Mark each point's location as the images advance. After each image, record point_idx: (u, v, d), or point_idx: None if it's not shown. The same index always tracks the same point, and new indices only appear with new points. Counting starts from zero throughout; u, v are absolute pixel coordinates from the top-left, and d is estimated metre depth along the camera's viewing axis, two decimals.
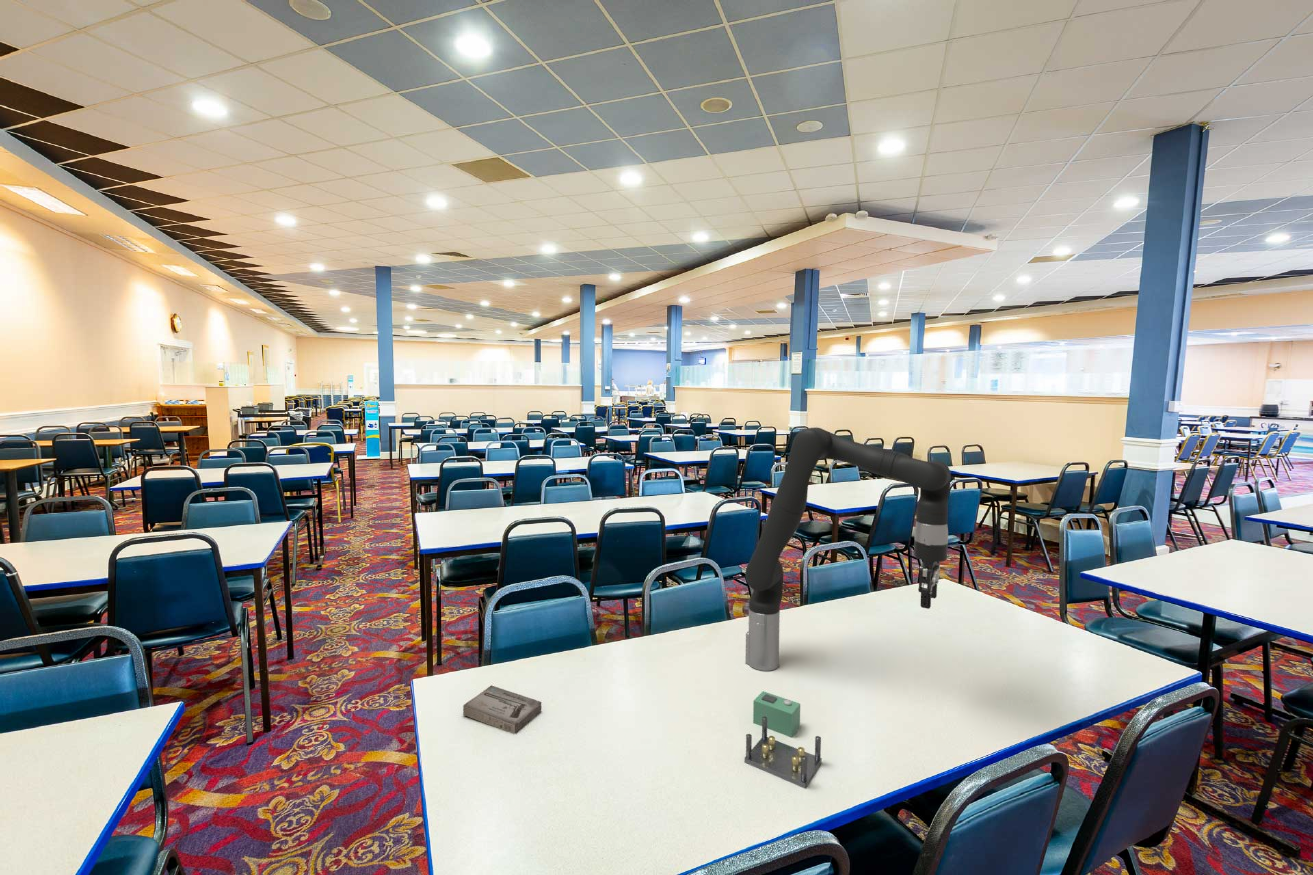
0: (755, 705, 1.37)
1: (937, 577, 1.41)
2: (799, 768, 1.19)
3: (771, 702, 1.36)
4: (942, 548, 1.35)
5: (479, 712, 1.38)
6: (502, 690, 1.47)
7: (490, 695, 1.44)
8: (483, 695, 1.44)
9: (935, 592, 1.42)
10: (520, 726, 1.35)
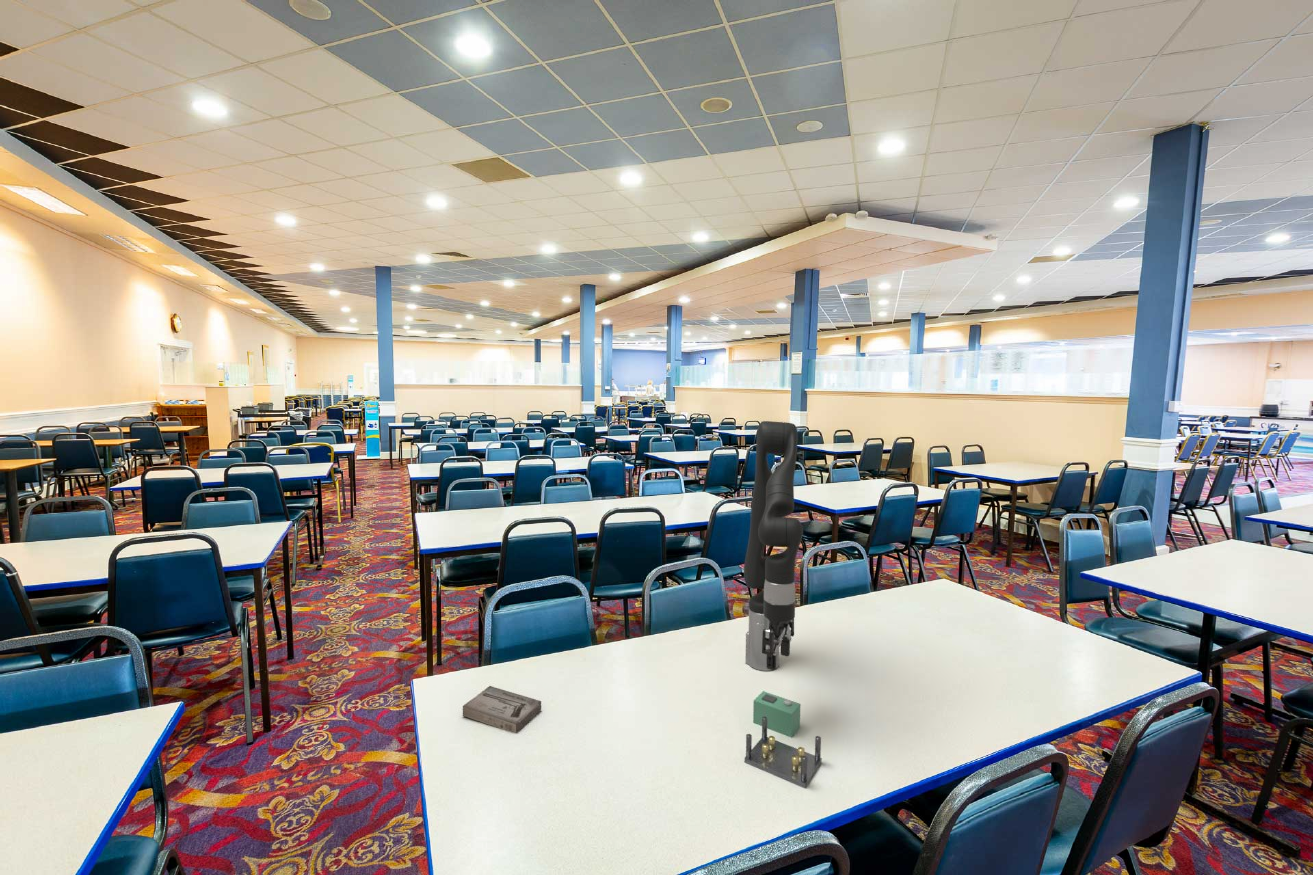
0: (755, 705, 1.37)
1: (788, 635, 1.37)
2: (799, 768, 1.19)
3: (771, 702, 1.36)
4: (787, 608, 1.31)
5: (479, 712, 1.37)
6: (501, 690, 1.47)
7: (489, 696, 1.44)
8: (482, 696, 1.44)
9: (788, 650, 1.38)
10: (521, 725, 1.35)
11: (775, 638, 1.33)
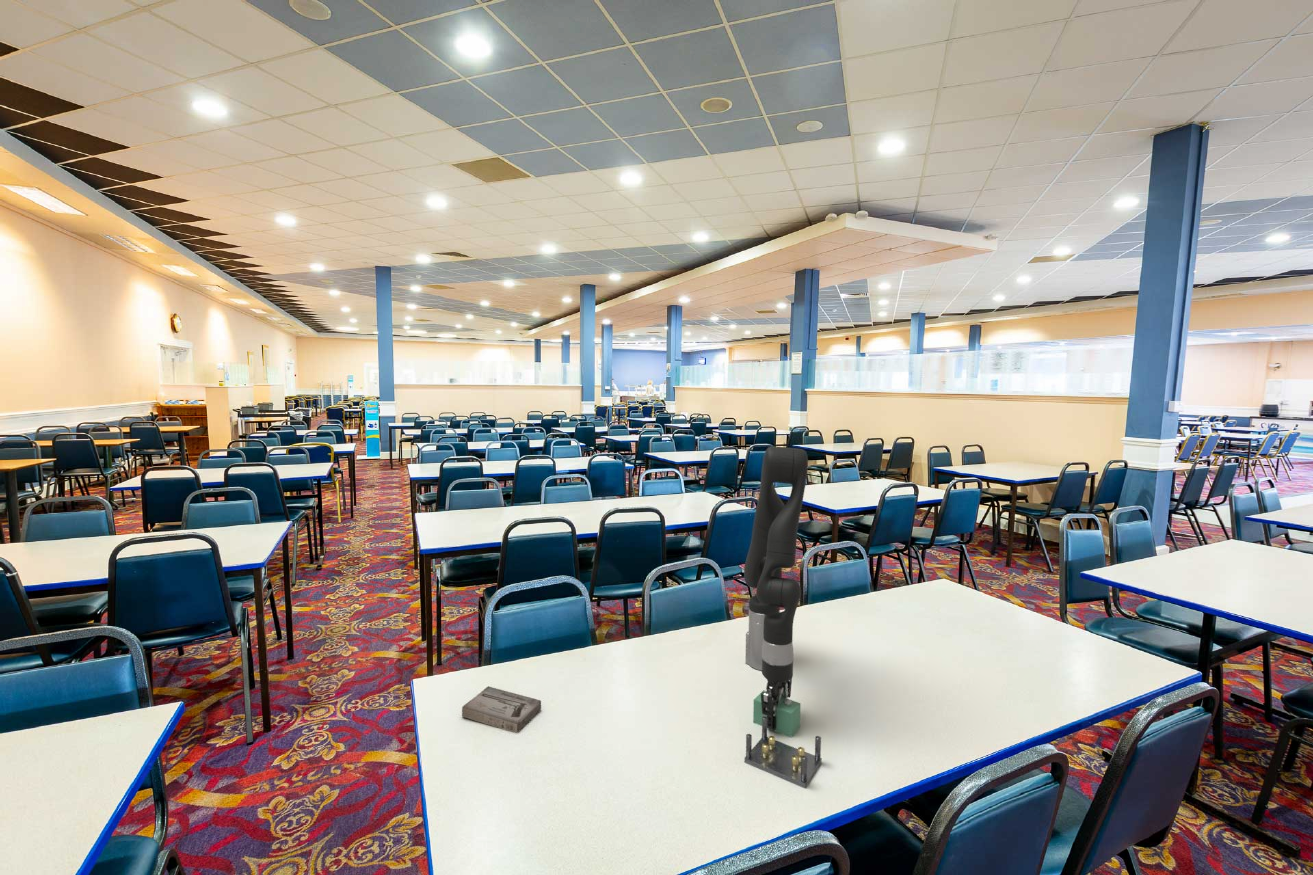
0: (755, 704, 1.37)
1: (785, 695, 1.37)
2: (799, 768, 1.19)
3: None
4: (785, 668, 1.32)
5: (479, 713, 1.37)
6: (500, 690, 1.47)
7: (488, 696, 1.44)
8: (481, 696, 1.44)
9: None
10: (522, 725, 1.35)
11: (773, 697, 1.34)
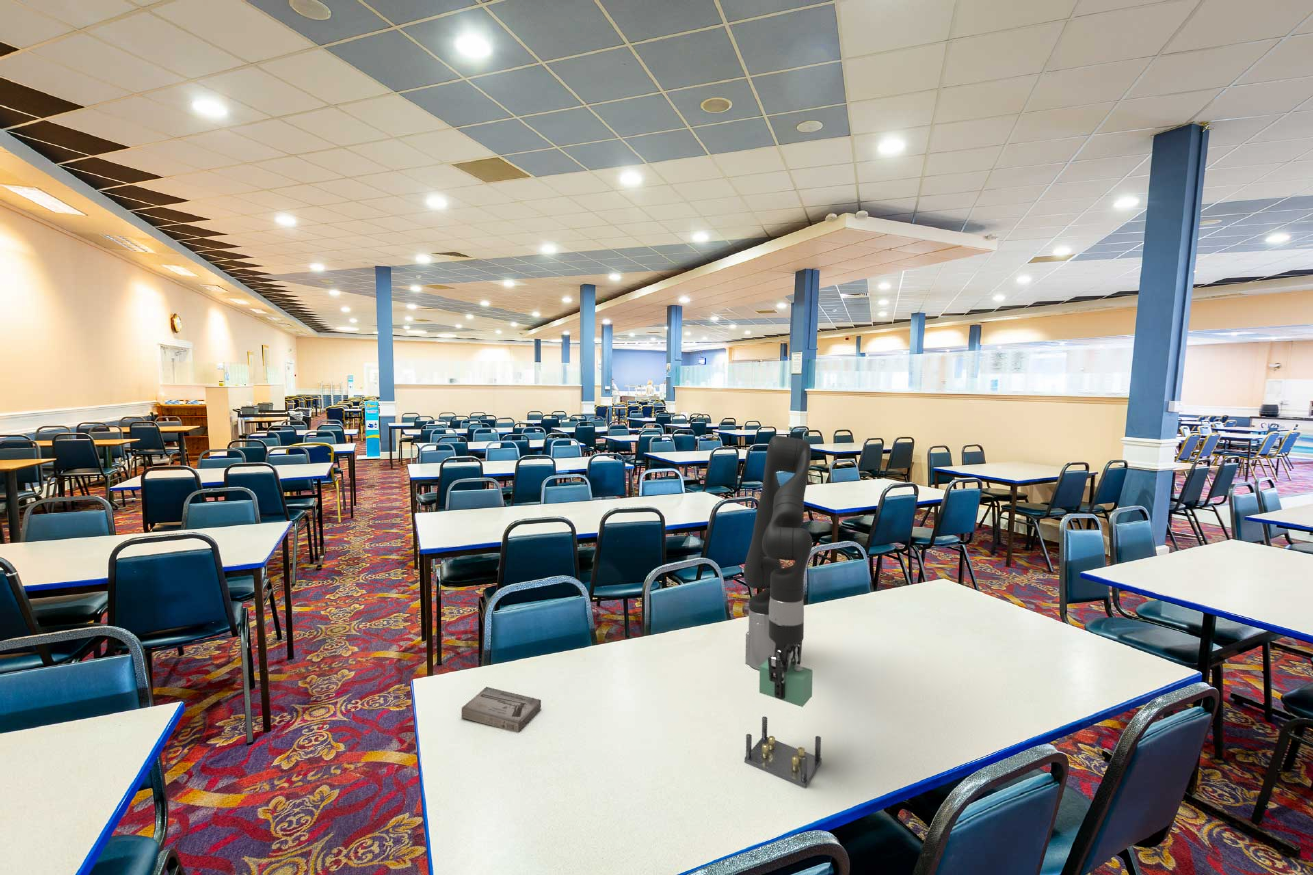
0: (761, 671, 1.22)
1: (795, 661, 1.22)
2: (799, 768, 1.19)
3: None
4: (795, 629, 1.17)
5: (479, 713, 1.37)
6: (499, 691, 1.46)
7: (487, 697, 1.44)
8: (480, 697, 1.43)
9: None
10: (523, 724, 1.35)
11: (782, 662, 1.19)
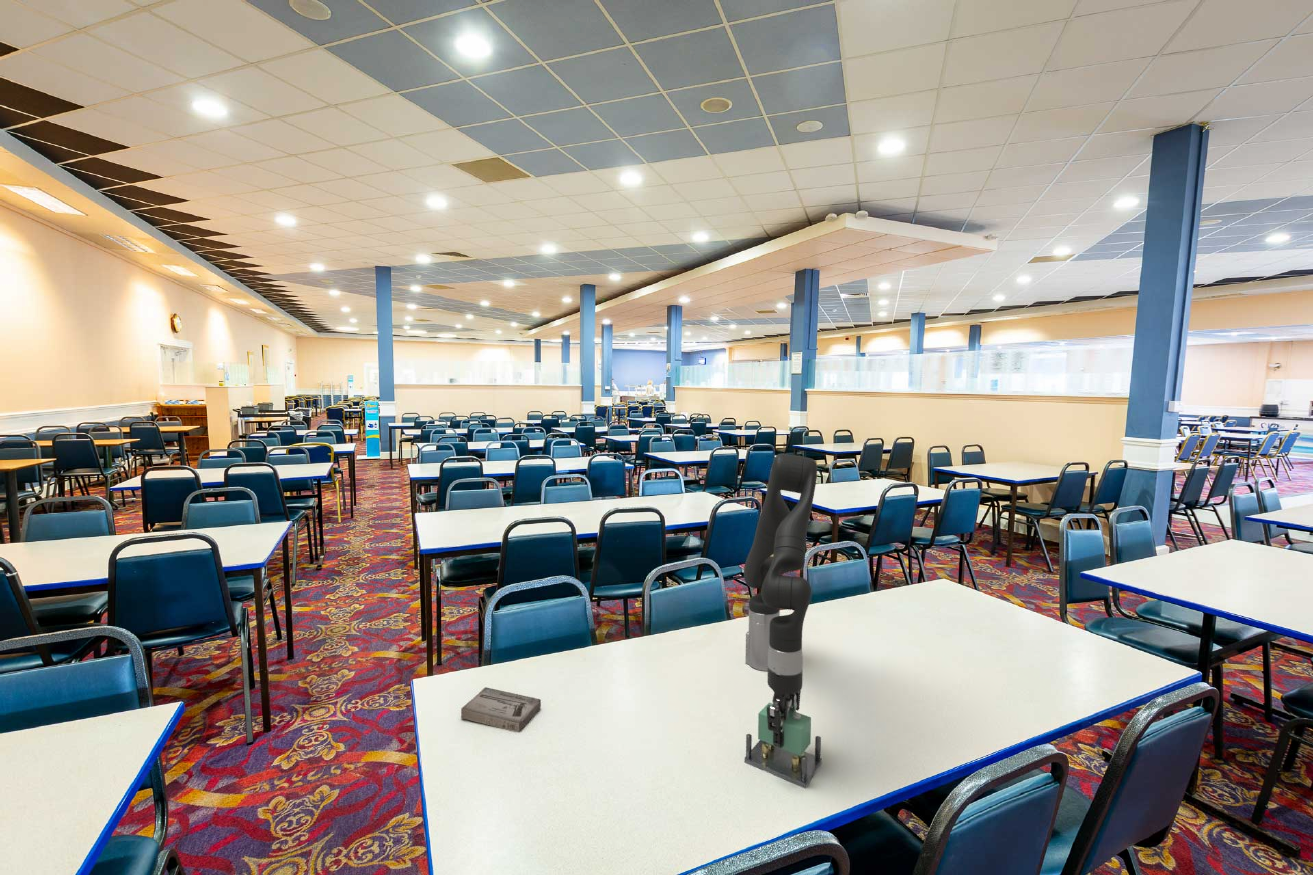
0: (760, 718, 1.22)
1: (793, 708, 1.23)
2: (799, 768, 1.19)
3: None
4: (794, 678, 1.18)
5: (480, 713, 1.37)
6: (498, 691, 1.46)
7: (487, 697, 1.44)
8: (480, 697, 1.43)
9: None
10: (523, 724, 1.35)
11: (781, 711, 1.19)
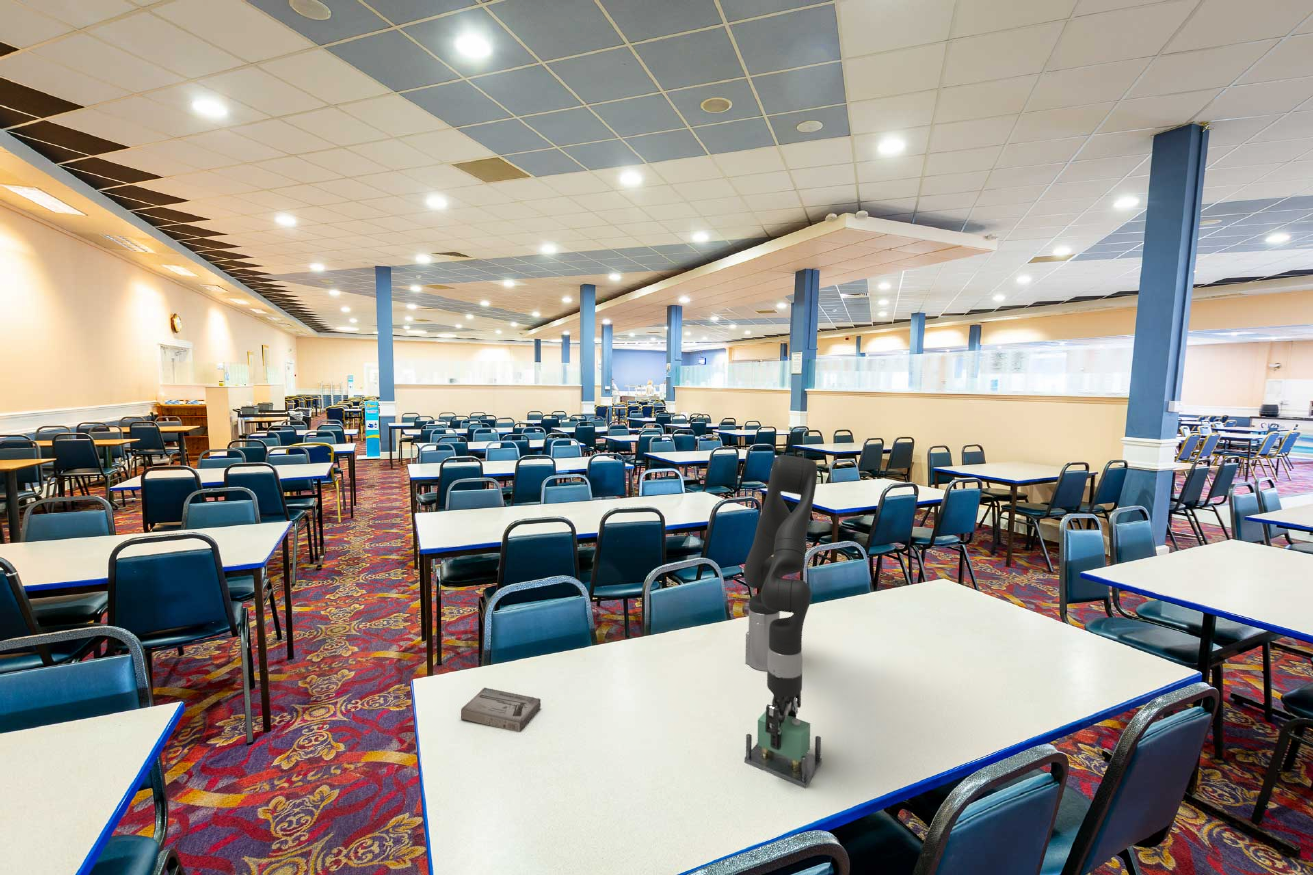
0: (760, 725, 1.23)
1: (794, 708, 1.23)
2: (799, 768, 1.19)
3: None
4: (793, 681, 1.18)
5: (480, 714, 1.37)
6: (497, 691, 1.46)
7: (486, 697, 1.43)
8: (479, 698, 1.43)
9: None
10: (524, 724, 1.35)
11: (780, 713, 1.19)
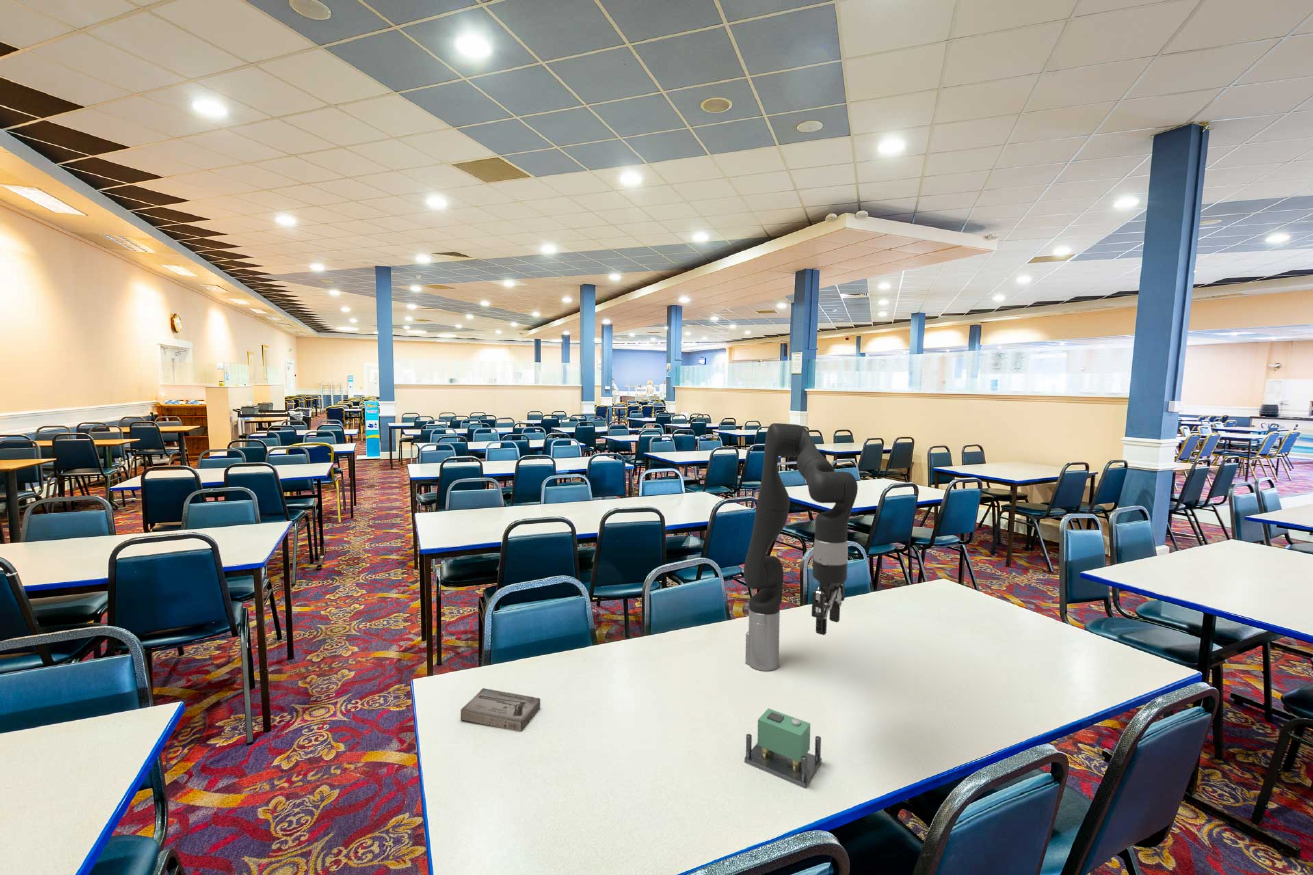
0: (760, 725, 1.23)
1: (838, 599, 1.27)
2: (799, 768, 1.19)
3: (778, 721, 1.22)
4: (839, 568, 1.22)
5: (480, 714, 1.37)
6: (496, 691, 1.46)
7: (486, 698, 1.43)
8: (478, 698, 1.43)
9: (837, 615, 1.29)
10: (525, 723, 1.36)
11: (826, 601, 1.24)
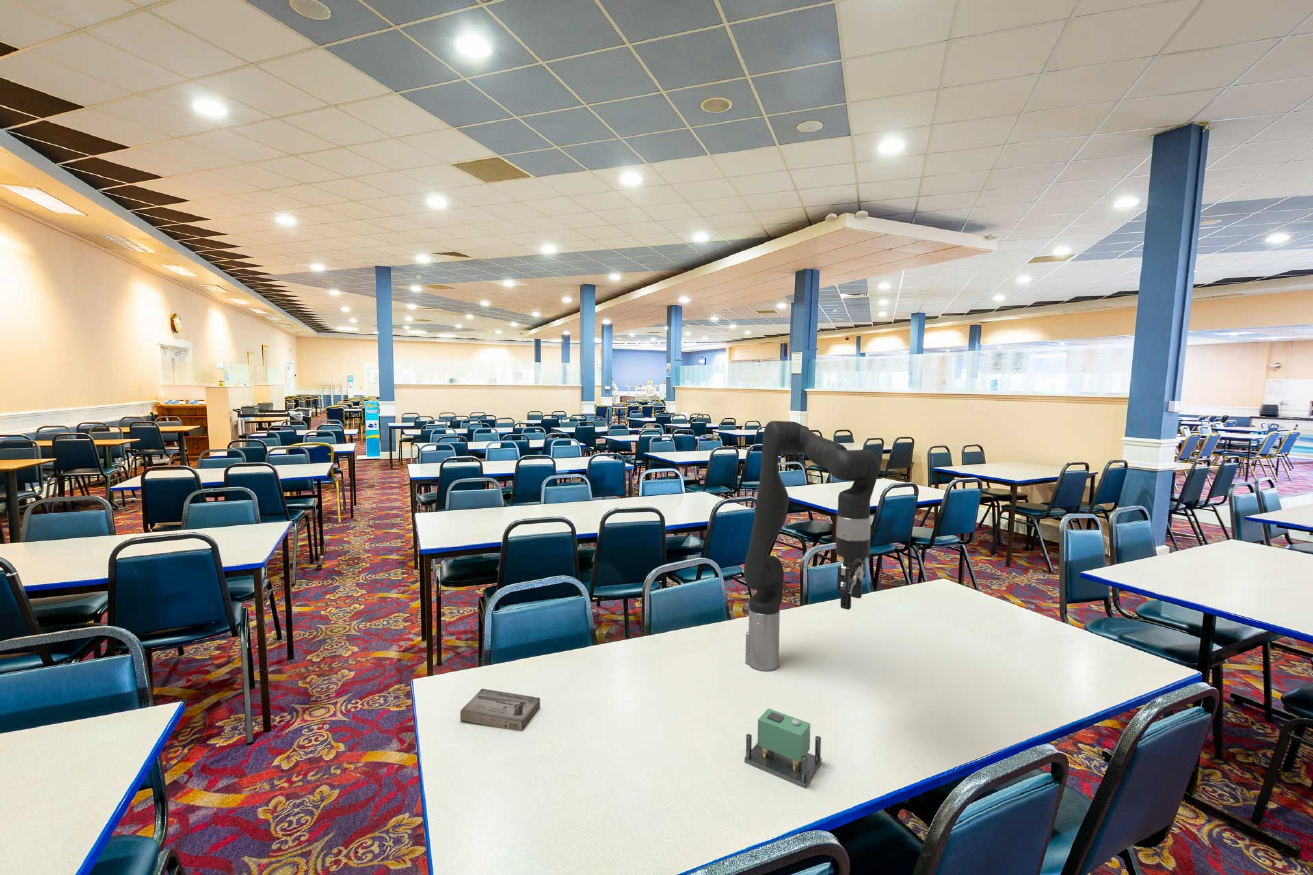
0: (760, 725, 1.23)
1: (861, 575, 1.30)
2: (799, 768, 1.19)
3: (778, 721, 1.22)
4: (863, 544, 1.25)
5: (480, 714, 1.36)
6: (495, 691, 1.46)
7: (485, 698, 1.43)
8: (478, 699, 1.43)
9: (860, 592, 1.32)
10: (525, 723, 1.36)
11: (850, 576, 1.26)
